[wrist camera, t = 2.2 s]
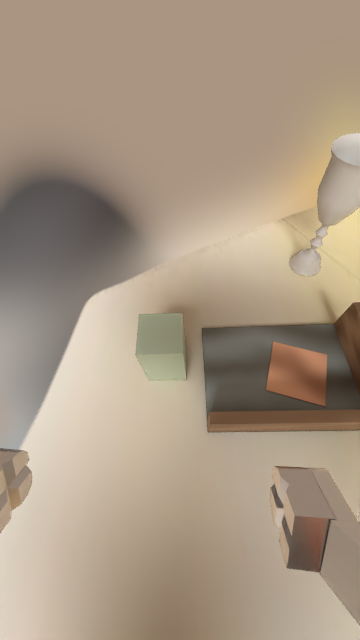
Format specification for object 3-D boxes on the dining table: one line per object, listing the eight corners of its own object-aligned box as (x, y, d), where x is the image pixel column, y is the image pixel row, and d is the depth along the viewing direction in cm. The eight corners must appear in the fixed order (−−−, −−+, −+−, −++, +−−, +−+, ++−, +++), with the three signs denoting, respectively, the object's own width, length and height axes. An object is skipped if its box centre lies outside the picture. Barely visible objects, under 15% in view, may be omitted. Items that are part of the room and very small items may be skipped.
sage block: (186, 380, 34) (183, 353, 26) (149, 380, 34) (135, 354, 27) (185, 346, 37) (182, 312, 29) (151, 347, 37) (139, 314, 29)
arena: (379, 430, 30) (418, 421, 24) (207, 432, 31) (209, 424, 25) (340, 325, 37) (363, 302, 32) (202, 330, 38) (202, 308, 33)
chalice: (317, 287, 40) (392, 174, 25) (277, 271, 43) (322, 157, 27) (332, 258, 43) (406, 140, 28) (293, 244, 46) (342, 128, 30)
